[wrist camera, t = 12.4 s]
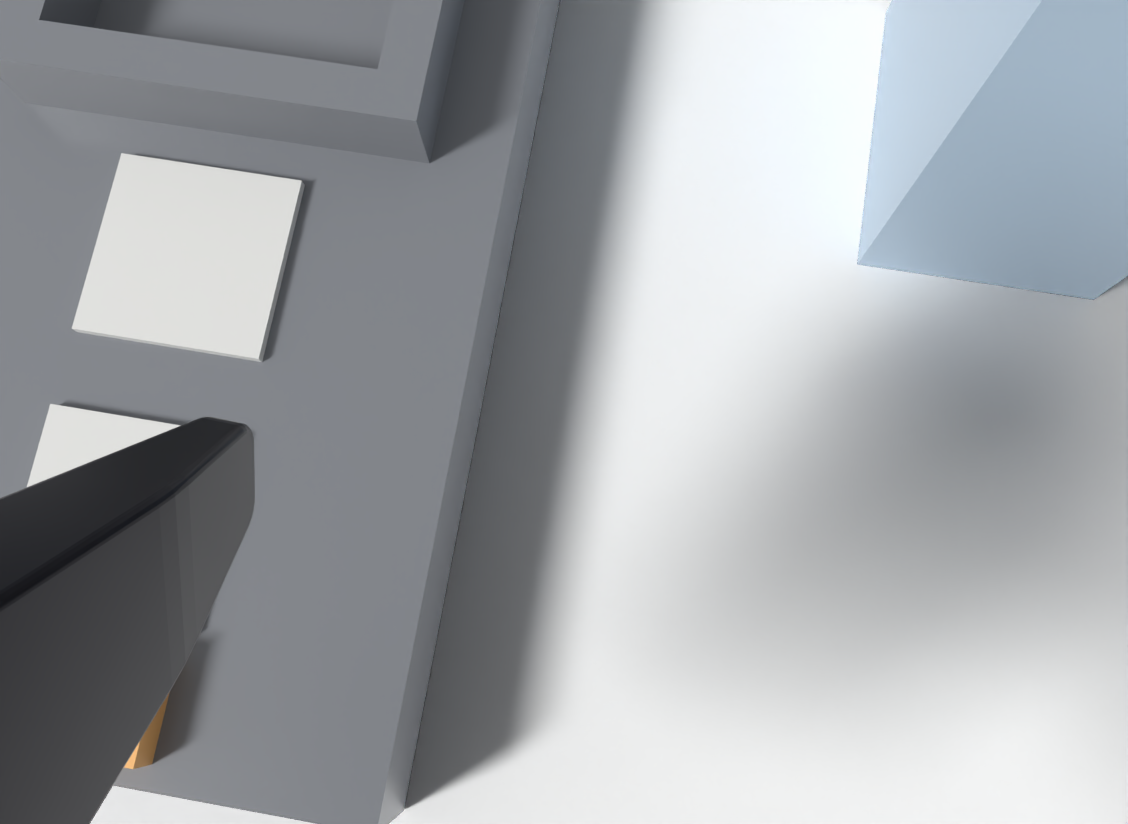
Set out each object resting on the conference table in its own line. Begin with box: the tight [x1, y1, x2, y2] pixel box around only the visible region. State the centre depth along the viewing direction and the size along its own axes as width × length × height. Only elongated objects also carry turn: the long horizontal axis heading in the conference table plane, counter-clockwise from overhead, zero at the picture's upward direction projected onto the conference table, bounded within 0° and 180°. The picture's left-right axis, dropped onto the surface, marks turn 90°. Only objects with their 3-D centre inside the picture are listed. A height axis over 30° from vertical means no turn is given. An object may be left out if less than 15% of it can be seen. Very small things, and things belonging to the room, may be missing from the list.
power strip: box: [0, 0, 560, 824], centre depth 19 cm, size 20×10×4 cm, turn 170°
